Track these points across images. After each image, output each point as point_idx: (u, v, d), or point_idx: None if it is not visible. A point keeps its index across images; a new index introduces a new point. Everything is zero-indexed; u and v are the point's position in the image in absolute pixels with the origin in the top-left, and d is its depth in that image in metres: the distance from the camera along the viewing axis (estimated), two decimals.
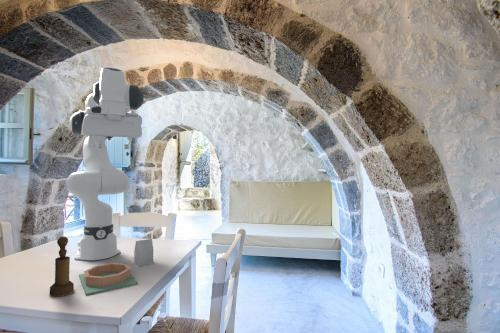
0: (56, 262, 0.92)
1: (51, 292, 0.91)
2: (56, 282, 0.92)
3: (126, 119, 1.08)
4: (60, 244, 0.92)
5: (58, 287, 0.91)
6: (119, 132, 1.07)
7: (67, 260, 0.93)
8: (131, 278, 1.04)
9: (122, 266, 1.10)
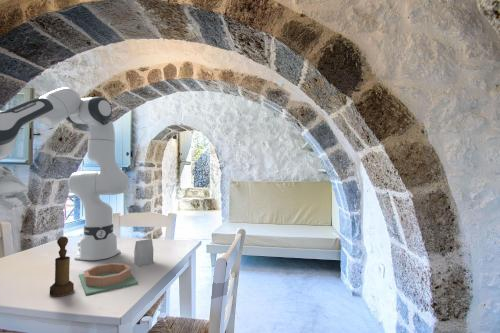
0: (56, 262, 0.92)
1: (51, 292, 0.91)
2: (56, 282, 0.92)
3: None
4: (60, 244, 0.92)
5: (58, 287, 0.91)
6: None
7: (67, 260, 0.93)
8: (131, 278, 1.04)
9: (122, 266, 1.10)
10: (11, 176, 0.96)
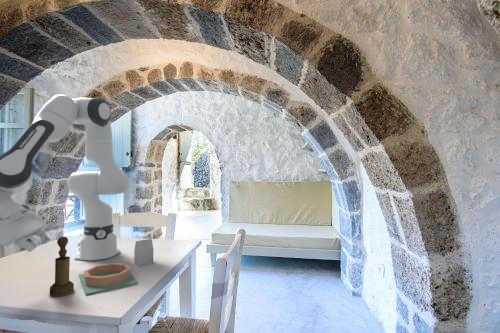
0: (56, 262, 0.92)
1: (51, 292, 0.91)
2: (56, 282, 0.92)
3: None
4: (60, 244, 0.92)
5: (58, 287, 0.91)
6: None
7: (67, 260, 0.93)
8: (131, 278, 1.04)
9: (122, 266, 1.10)
10: (30, 213, 0.97)
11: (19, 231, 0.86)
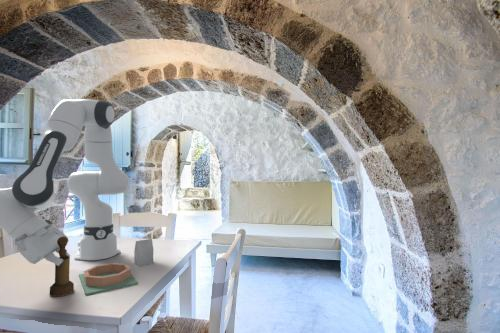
0: None
1: (51, 292, 0.91)
2: (56, 282, 0.92)
3: None
4: (60, 244, 0.92)
5: (58, 287, 0.91)
6: None
7: (67, 260, 0.93)
8: (131, 278, 1.04)
9: (122, 266, 1.10)
10: (53, 228, 0.98)
11: (45, 248, 0.87)
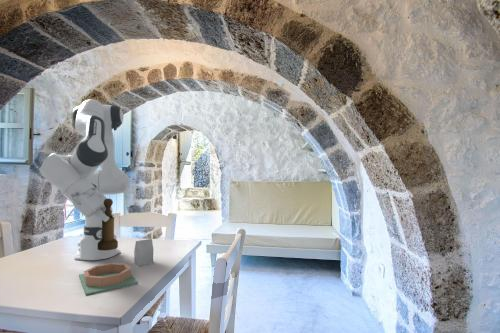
0: None
1: (99, 247, 1.01)
2: (103, 238, 1.02)
3: None
4: (106, 204, 1.03)
5: (105, 242, 1.02)
6: None
7: (112, 219, 1.04)
8: (131, 278, 1.04)
9: (122, 266, 1.10)
10: (97, 191, 1.09)
11: (95, 205, 0.98)
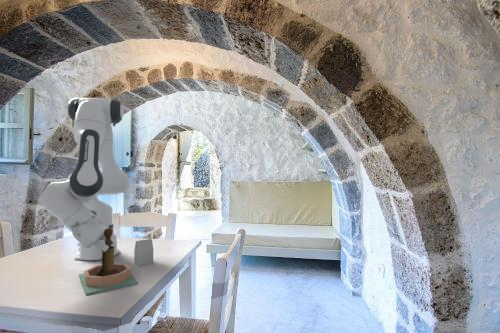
0: (103, 251, 1.03)
1: None
2: (103, 269, 1.02)
3: None
4: (107, 235, 1.03)
5: (106, 273, 1.02)
6: None
7: (112, 249, 1.04)
8: (131, 278, 1.04)
9: (122, 266, 1.10)
10: (97, 218, 1.09)
11: (95, 234, 0.98)
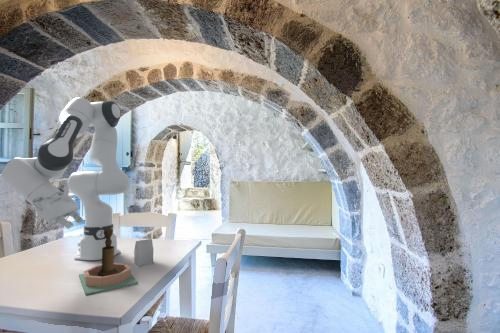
0: (103, 251, 1.03)
1: None
2: (103, 269, 1.02)
3: None
4: (107, 235, 1.03)
5: (106, 273, 1.02)
6: None
7: (112, 249, 1.04)
8: (131, 278, 1.04)
9: (122, 266, 1.10)
10: (65, 196, 1.07)
11: (59, 210, 0.96)
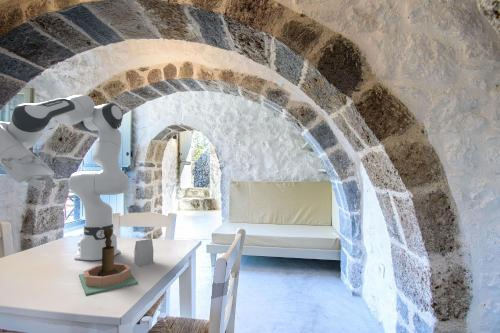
0: (103, 251, 1.03)
1: None
2: (103, 269, 1.02)
3: None
4: (107, 235, 1.03)
5: (106, 273, 1.02)
6: None
7: (112, 249, 1.04)
8: (131, 278, 1.04)
9: (122, 266, 1.10)
10: (39, 161, 1.04)
11: (30, 171, 0.93)
